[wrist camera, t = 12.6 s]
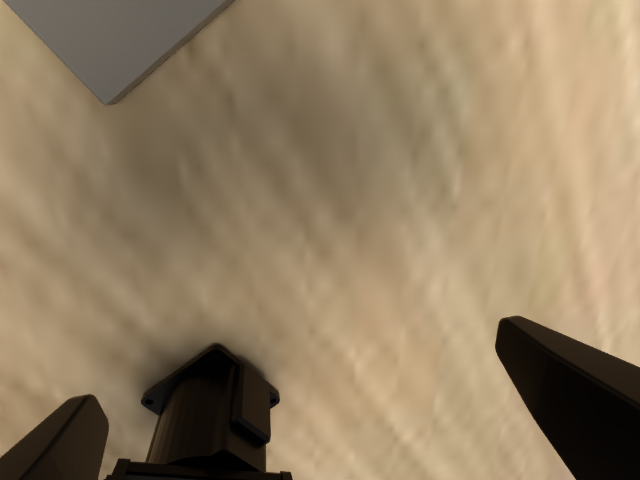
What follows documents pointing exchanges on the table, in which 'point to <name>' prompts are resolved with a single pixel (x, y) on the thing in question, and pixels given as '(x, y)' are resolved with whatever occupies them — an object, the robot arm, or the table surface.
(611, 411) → the robot arm
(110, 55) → the post board
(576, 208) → the table surface
